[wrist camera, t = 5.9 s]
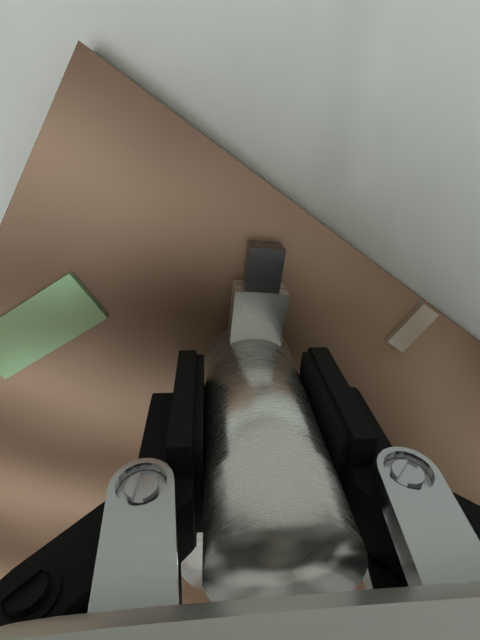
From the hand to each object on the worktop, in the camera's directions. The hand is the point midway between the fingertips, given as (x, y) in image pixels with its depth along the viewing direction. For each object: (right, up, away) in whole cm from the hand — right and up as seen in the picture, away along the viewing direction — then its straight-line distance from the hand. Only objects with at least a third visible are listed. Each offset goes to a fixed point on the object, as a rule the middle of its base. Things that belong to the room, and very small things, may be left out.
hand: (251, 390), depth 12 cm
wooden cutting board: (-1, -7, +7) cm, 9 cm away
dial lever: (0, -2, +3) cm, 4 cm away
